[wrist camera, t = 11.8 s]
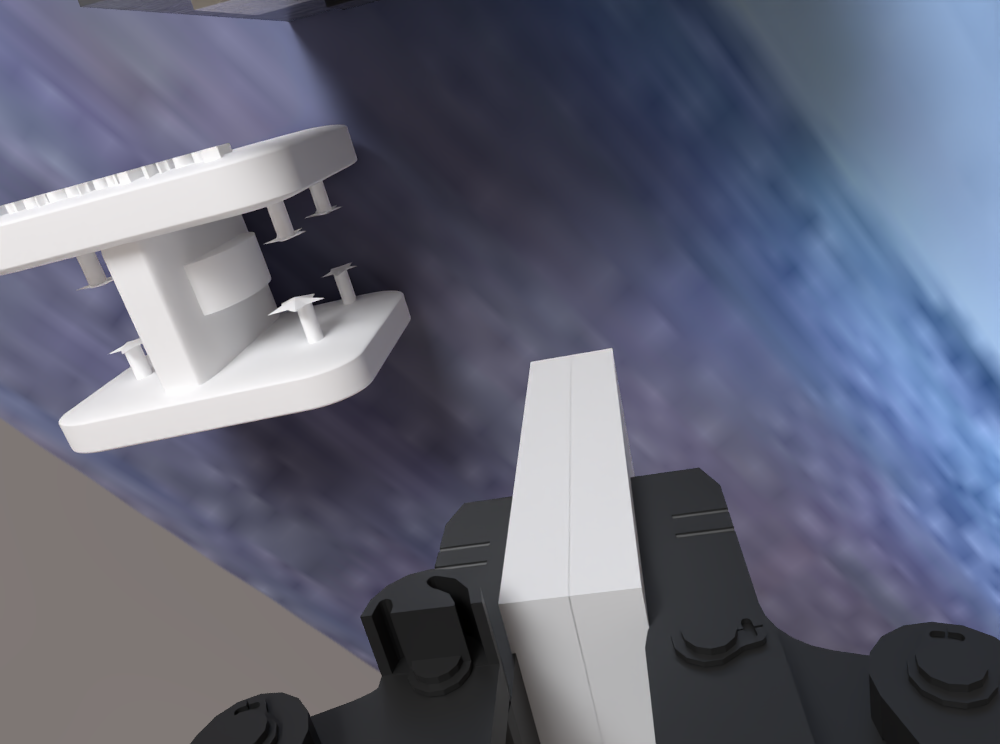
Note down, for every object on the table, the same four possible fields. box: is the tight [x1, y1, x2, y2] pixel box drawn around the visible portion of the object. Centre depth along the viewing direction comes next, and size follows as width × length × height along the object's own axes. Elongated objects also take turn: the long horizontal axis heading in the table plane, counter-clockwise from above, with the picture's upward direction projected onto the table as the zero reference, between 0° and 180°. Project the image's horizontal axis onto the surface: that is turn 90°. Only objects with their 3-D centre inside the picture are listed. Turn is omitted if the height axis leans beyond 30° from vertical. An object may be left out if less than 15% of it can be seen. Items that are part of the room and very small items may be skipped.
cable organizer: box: [0, 125, 411, 453], centre depth 35 cm, size 15×11×12 cm
